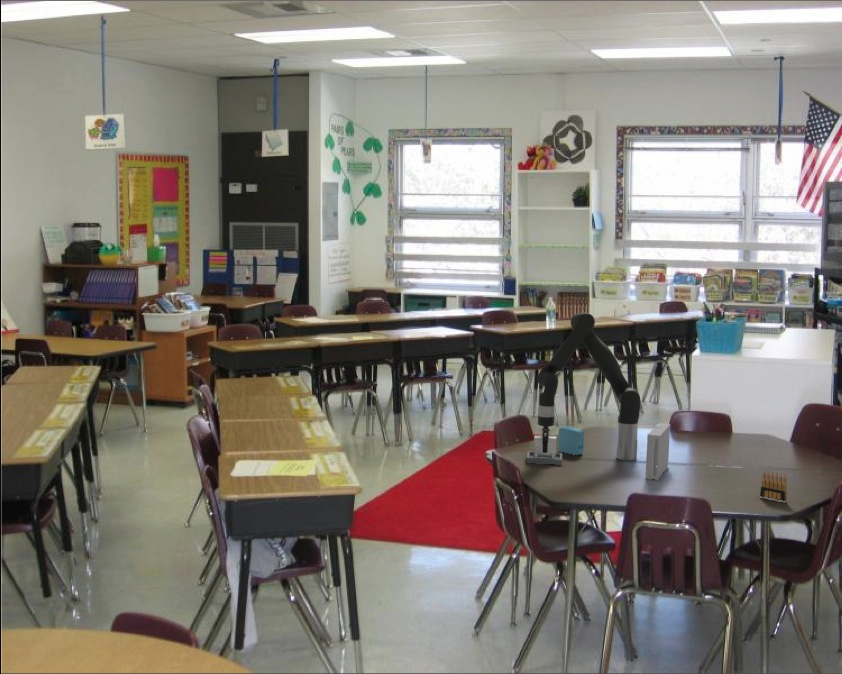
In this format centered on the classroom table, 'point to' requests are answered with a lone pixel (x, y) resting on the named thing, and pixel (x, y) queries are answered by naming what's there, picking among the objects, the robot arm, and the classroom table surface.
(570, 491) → the classroom table surface
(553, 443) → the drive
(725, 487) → the classroom table surface
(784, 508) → the classroom table surface
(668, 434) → the game console
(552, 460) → the tray
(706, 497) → the classroom table surface
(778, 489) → the ammunition clip
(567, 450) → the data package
